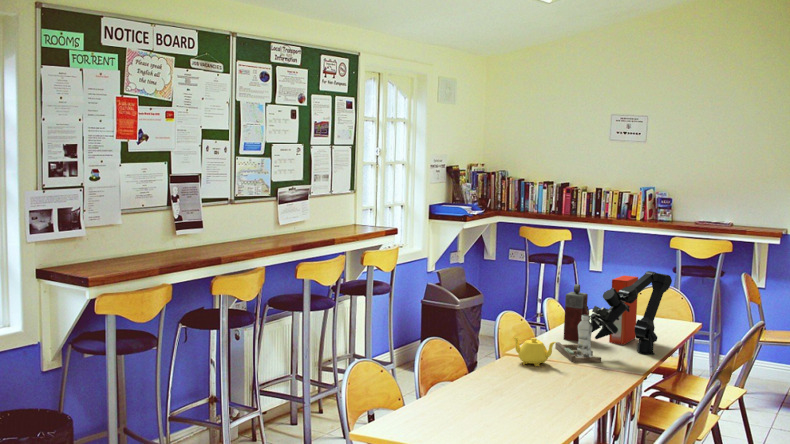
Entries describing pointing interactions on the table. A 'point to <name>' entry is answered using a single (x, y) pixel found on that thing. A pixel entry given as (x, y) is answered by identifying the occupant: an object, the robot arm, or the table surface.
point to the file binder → (625, 314)
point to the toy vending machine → (574, 313)
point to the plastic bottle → (584, 337)
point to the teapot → (533, 351)
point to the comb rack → (574, 353)
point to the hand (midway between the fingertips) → (591, 336)
